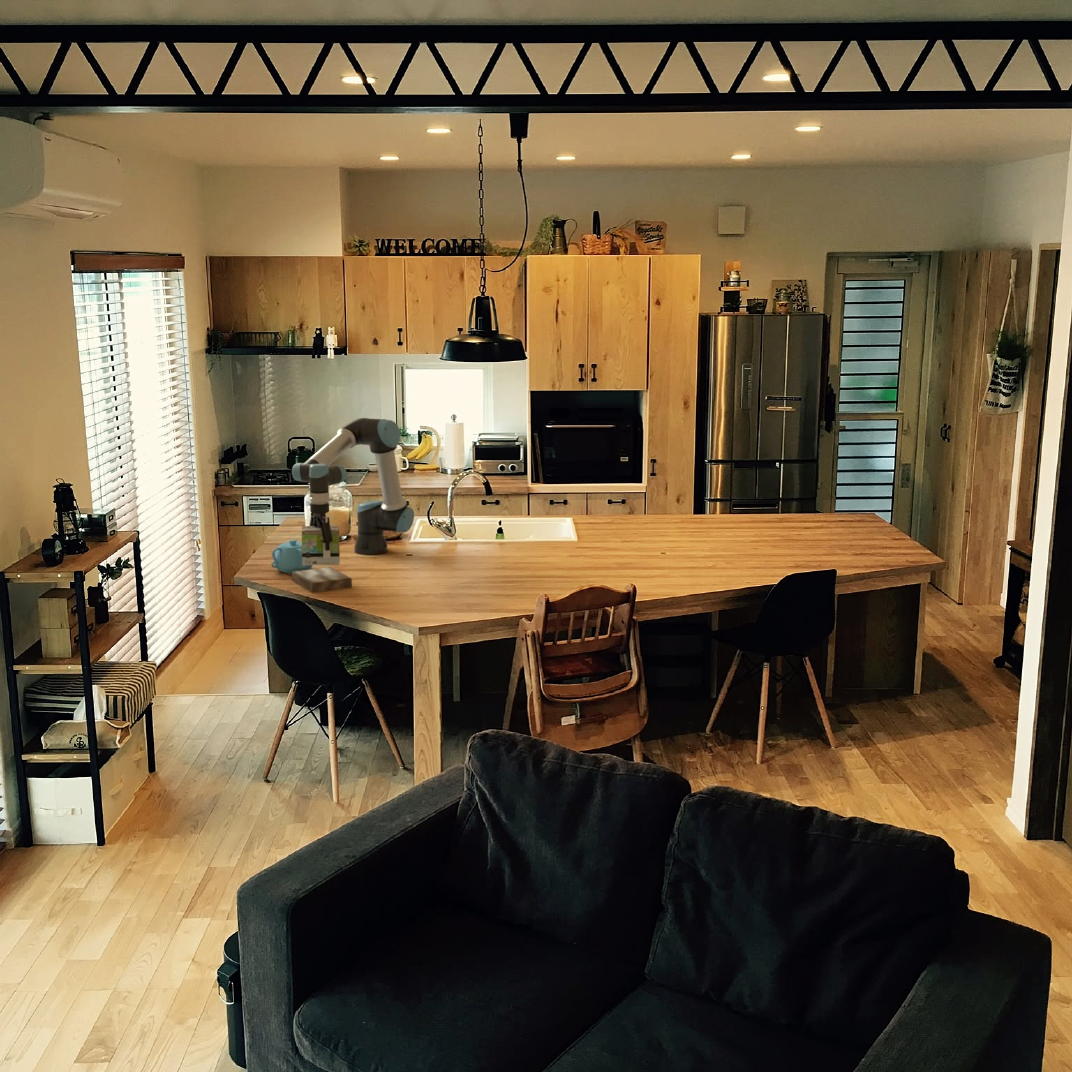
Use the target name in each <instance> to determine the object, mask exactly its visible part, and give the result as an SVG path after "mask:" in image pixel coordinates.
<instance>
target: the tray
mask: <svg viewBox="0 0 1072 1072" xmlns="http://www.w3.org/2000/svg"><path fill="white" fill-rule="evenodd" d="M291 581H292V582H293V583H295V584H297V585H299V586H300V587H302V588H303V587H304V588H303V589H305V590H306V589H307V590H306V591H308V590H309V591H308V592H310V593H311V592H312V594H315V592H316V593H321V592H329V591H335V590H336V591H338V590H343V589H351V588H353V582H352V581H353V578H352V577H350V576H348V575H346V574H345V573H342V572H341V571H339V570H337V569H335V568H333V567H331V566H328V567H319V568H313V569H312V568H311V569H310V570H302V571H294V572H292V574H291ZM313 592H314V593H313Z"/></svg>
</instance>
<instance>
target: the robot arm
mask: <svg viewBox="0 0 1072 1072" xmlns="http://www.w3.org/2000/svg"><path fill="white" fill-rule="evenodd" d="M400 438H401V431H400V428H399V425H398V424H397V423H396V422H395V421H393V420H391V419H387V418H386V419H385V418H383V419H381V418H368V417H362V418H361V417H360V418H357V419H356V418H355V419H354V420H352V421H350V422H348V423H346V424H345V425H343V426H342V427H341V428H339V429H338V430H337V432H336V434H335V436H334V437H333V438H331V439H330V440H329V441H328V442H327V443H326V444H325V445H323V446H322V447H321V448H320V449H319V450H318V451H317V452H316V453H314V454H313V455H312V456H310V458H308V459H307V460H306V461H305V462H296V463H295V464H294V465H293V466H292V469H291V475H292V478H293V479H294V481H297V482H302V483H309V495H308V497H309V502H310V504H309V511H310V521H309V526H319V528H320V529H321V530H322V536H323V540H324V541H323V542H322V543H323V558H324V559H325V558H330V542H332V541H333V540H332V534H331V529H330V526H331V524H330V517H329V516H326V514H327V513H329V512H330V503H329V502H330V491H329V489H330V486H333V485H339V484H341V483H343V482H345V480H346V479H347V476H348V475H347V474H348V473H347V470H346V469H345V467H344V466H343V465H341V464H334V465H331V464H332V463H333V462H335V461H336V460H337V459H339V458H340V457H341V455H343V454H344V453H345V452H346V451H347V450H348V449H352V448H354V447H356V446H359V445H364V446H369V449H370V452H371V454H374V457H375V462H376V467H377V473H378V479H379V484H380V489H381V494H382V500H380V499H379V500H369V501H363V502H360V503H359V504H358V505H357V510H356V514H357V517H356V518H357V537H356V540H355V544H354V546H353V549H354V553H356V554H359V555H380V554H381V555H382V554H384V553H385V554H386V552H388V544H387V540H386V539H385V536H384V531H385V532H393V533H394V532H395V533H397V534H398V533H407V532H408V531H410V530H411V528H412V526H413V523H414V520H415V512H414V509H413V508H412V507H409V506H408V502H407V500H406V499H405V498H404V497H403V493H402V489H401V483H400V477H399V471H398V465H397V461H396V460H397V459H396V454H395V451H396V450H397V448H398V446H399V444H400V441H401V439H400Z"/></svg>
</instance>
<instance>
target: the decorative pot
mask: <svg viewBox="0 0 1072 1072" xmlns="http://www.w3.org/2000/svg"><path fill="white" fill-rule="evenodd" d="M271 557H272V560H273V561H272V562H271V564H270V566H271V567H272V568H274V569H277V570H278V571H279V572H282V573H286V575H292V572H294V571H302V570H310V569H312V567H313V566H314V565H304V566H303V564H302V541H297V539H289V540H288V542H284V543H280V544H279V545H278V547H275V548H274V549H272V551H271Z"/></svg>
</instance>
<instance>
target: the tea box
mask: <svg viewBox="0 0 1072 1072" xmlns="http://www.w3.org/2000/svg"><path fill="white" fill-rule="evenodd" d="M330 529H331V534H332V540H333V541H332V542H330V558H325V559H324V558H323V543H322V542H323V541H324V540H323V536H322V530H321V529H320V528H319V526H310V525H302V526H301V543H302V564H303V566H304V565H313V566H339V565H340V560H341V559H340V558H341V557H340V551H341V549H340V547H341V546H340V527H339V525H330Z"/></svg>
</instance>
